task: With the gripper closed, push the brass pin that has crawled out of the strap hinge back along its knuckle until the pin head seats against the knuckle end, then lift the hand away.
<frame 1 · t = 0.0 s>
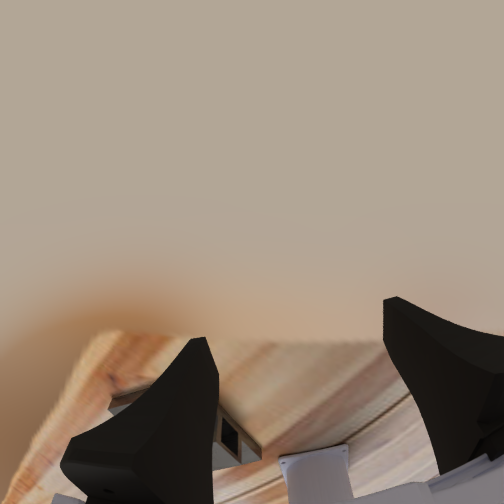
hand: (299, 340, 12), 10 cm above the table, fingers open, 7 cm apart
hinge leaves: (188, 428, 28), on the table
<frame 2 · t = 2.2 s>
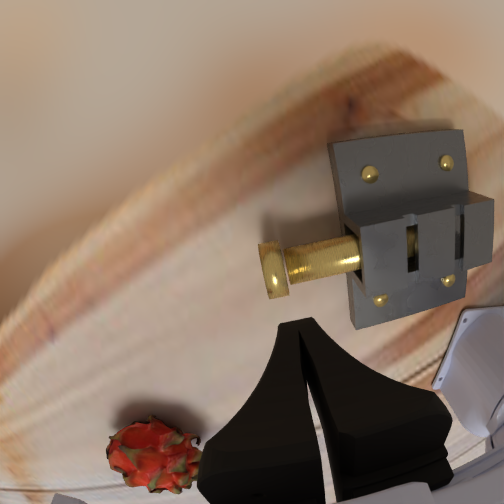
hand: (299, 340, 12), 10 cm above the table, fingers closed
hinge leaves: (406, 226, 21), on the table
dragon fruit: (158, 430, 28), on the table
pin: (354, 252, 19), point 3 cm above the table, slide at 4.0 cm
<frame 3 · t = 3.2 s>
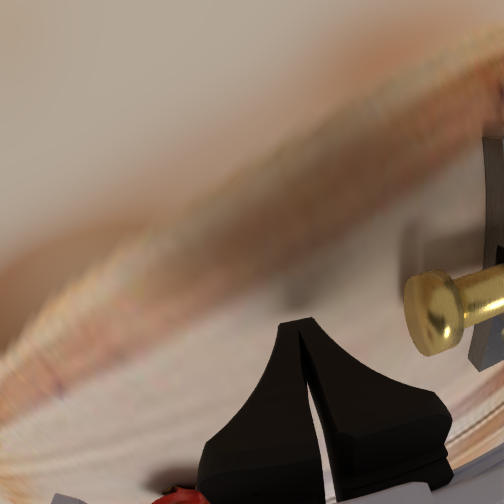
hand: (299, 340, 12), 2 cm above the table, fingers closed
dragon fruit: (204, 491, 21), on the table
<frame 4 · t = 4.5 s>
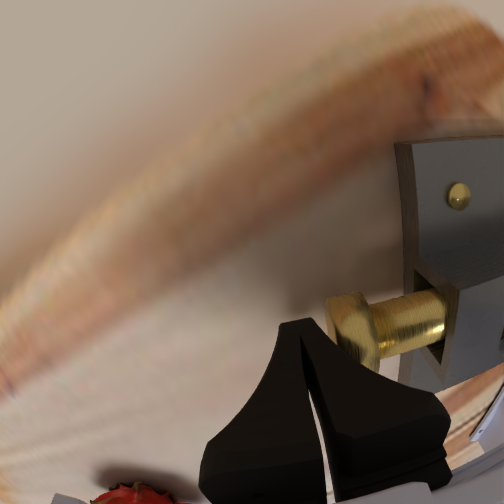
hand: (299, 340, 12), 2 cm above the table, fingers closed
hinge leaves: (482, 265, 13), on the table
dragon fruit: (147, 491, 21), on the table
pin: (460, 305, 11), point 2 cm above the table, slide at 2.4 cm, touching gripper
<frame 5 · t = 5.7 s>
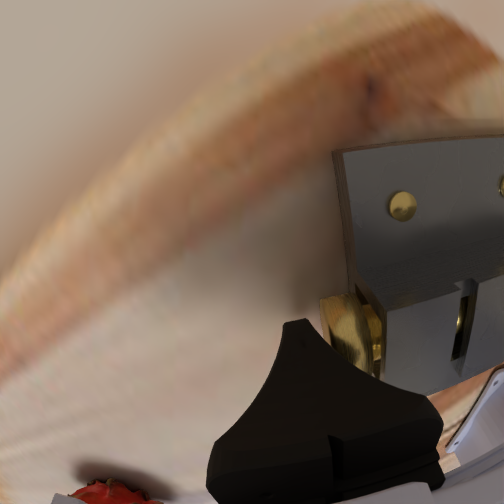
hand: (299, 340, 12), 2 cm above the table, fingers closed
hinge leaves: (443, 277, 13), on the table
dragon fruit: (123, 488, 21), on the table
pin: (456, 306, 11), point 2 cm above the table, slide at -0.1 cm, touching gripper
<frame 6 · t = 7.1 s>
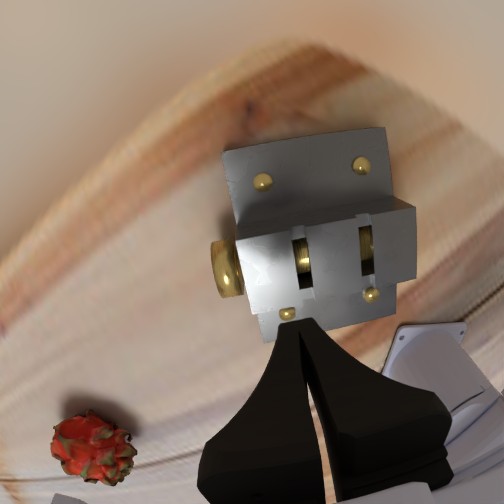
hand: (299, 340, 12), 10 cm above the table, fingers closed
hinge leaves: (318, 236, 21), on the table
dragon fruit: (99, 424, 28), on the table
pin: (313, 251, 18), point 3 cm above the table, slide at 0.0 cm
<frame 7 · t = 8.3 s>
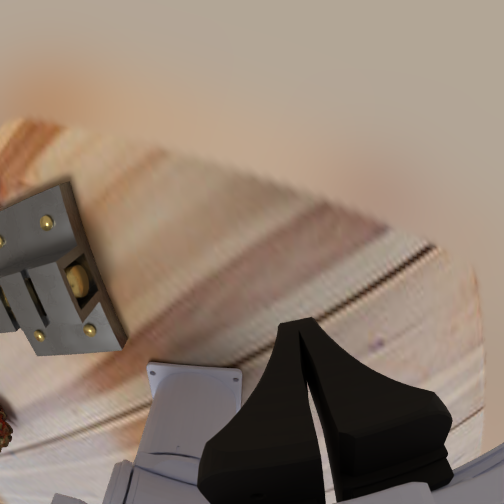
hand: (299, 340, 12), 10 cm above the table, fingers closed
hinge leaves: (50, 277, 22), on the table
pin: (27, 292, 19), point 3 cm above the table, slide at 0.0 cm
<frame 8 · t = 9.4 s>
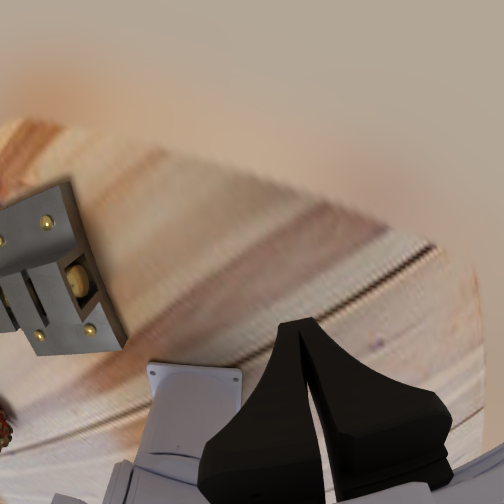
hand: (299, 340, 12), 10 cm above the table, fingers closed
hinge leaves: (50, 277, 22), on the table
pin: (27, 292, 19), point 3 cm above the table, slide at 0.0 cm
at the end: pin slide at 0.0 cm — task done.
